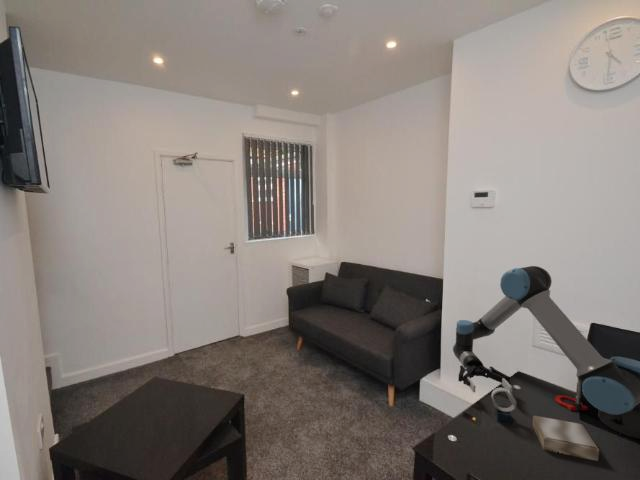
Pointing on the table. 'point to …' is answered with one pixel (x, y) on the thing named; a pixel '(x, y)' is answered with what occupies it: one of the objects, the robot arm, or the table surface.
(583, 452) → the plate
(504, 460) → the table surface
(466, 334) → the robot arm
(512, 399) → the watch
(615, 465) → the table surface
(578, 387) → the tow hook
